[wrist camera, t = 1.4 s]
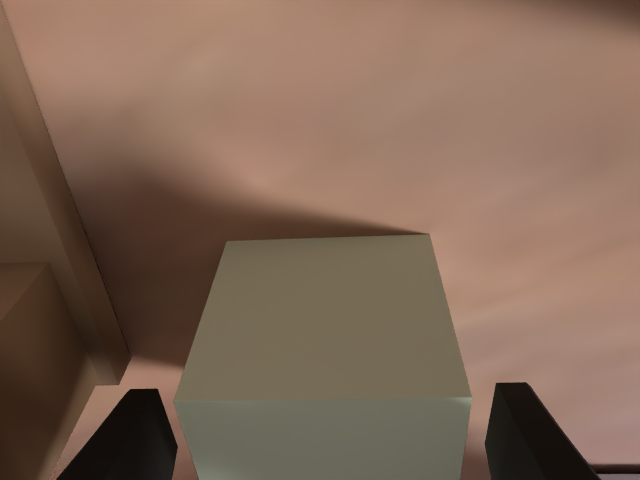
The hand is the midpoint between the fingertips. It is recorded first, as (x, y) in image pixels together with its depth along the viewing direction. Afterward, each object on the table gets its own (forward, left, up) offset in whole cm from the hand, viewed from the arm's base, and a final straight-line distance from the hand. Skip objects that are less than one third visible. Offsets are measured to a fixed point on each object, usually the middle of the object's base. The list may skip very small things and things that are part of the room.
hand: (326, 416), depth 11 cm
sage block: (0, 0, -4) cm, 4 cm away
